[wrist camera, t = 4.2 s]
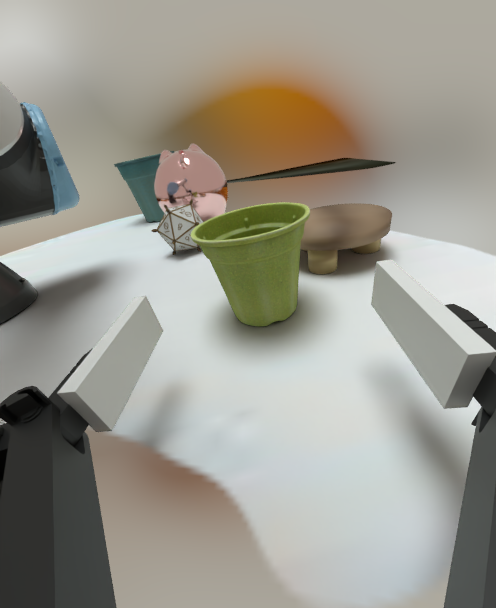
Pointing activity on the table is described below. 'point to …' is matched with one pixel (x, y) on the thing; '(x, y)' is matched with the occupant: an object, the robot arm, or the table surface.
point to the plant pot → (256, 258)
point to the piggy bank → (191, 182)
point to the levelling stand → (342, 233)
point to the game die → (179, 226)
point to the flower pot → (143, 184)
